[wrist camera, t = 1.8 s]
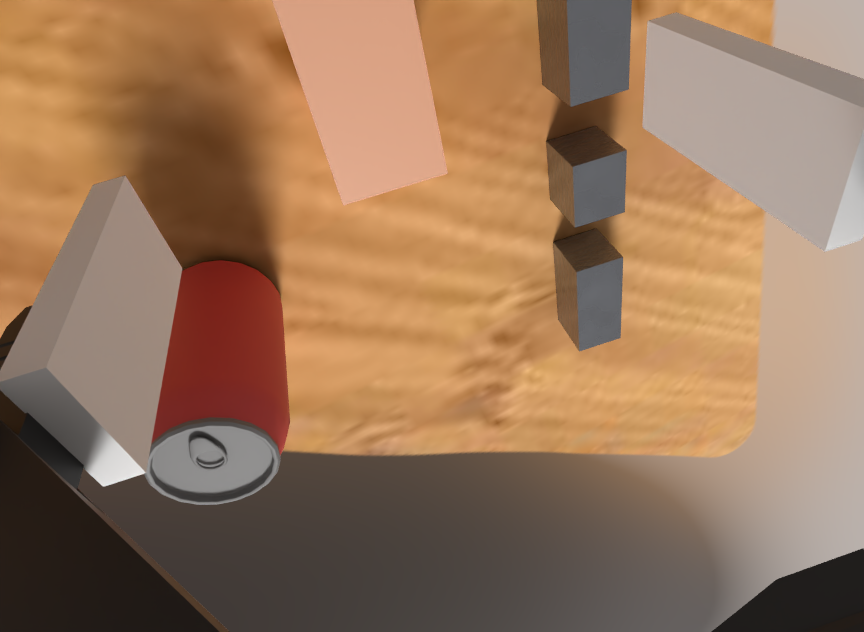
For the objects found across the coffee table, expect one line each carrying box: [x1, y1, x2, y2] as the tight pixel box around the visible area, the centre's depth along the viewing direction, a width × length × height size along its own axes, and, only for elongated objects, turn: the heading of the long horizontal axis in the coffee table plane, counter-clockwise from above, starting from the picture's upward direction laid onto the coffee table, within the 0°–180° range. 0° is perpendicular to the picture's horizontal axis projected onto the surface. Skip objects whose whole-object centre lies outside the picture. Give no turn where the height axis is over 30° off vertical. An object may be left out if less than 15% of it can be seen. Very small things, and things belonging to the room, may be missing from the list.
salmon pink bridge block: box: [272, 0, 448, 205], centre depth 22 cm, size 10×4×8 cm, turn 11°
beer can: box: [144, 260, 290, 505], centre depth 29 cm, size 7×7×12 cm
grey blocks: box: [537, 0, 632, 351], centre depth 32 cm, size 24×3×4 cm, turn 12°
